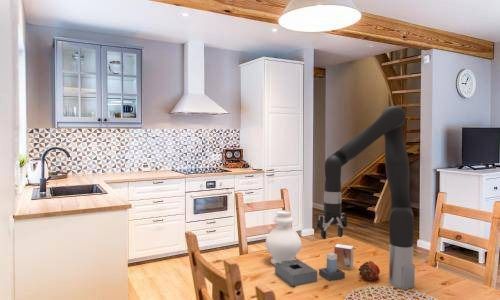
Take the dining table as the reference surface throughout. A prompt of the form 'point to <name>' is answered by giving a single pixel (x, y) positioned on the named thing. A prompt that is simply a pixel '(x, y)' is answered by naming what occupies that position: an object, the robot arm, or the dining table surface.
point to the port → (295, 272)
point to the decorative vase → (283, 239)
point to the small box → (344, 256)
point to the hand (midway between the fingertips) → (331, 237)
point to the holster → (331, 274)
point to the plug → (331, 262)
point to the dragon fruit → (369, 271)
